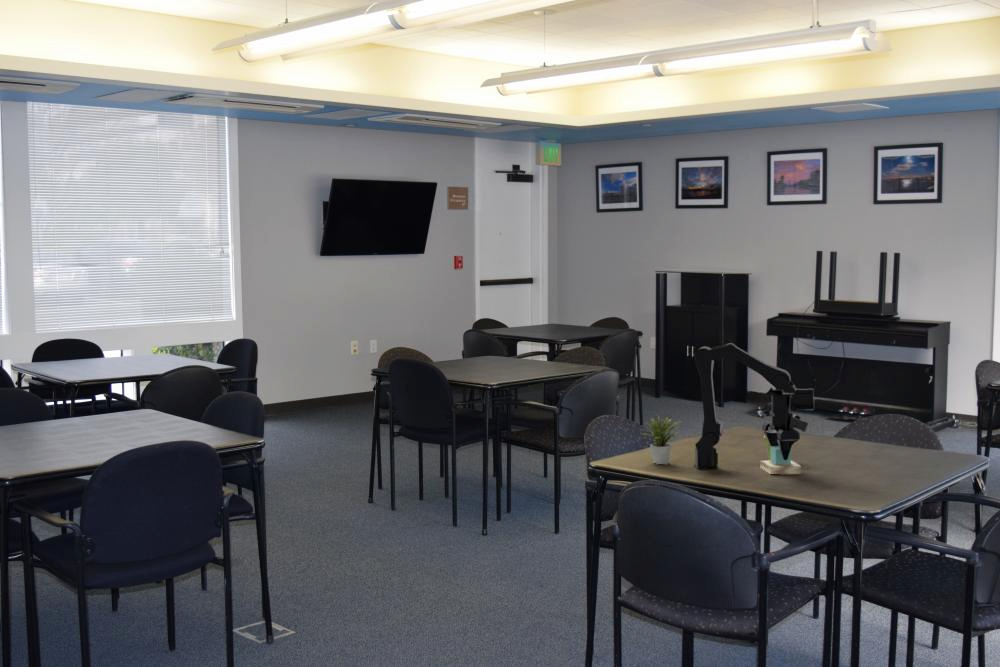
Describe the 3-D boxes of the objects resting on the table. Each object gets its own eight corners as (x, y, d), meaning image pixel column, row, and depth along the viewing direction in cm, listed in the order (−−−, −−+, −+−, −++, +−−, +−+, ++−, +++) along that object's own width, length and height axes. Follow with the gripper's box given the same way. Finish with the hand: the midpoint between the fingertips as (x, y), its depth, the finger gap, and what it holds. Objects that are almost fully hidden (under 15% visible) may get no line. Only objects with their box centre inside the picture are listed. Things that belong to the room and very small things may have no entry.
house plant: (679, 469, 329) (679, 419, 328) (637, 467, 334) (637, 418, 332) (685, 460, 343) (685, 413, 341) (645, 458, 347) (645, 411, 346)
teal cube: (775, 464, 322) (775, 449, 321) (770, 461, 327) (770, 446, 326) (790, 464, 322) (790, 448, 322) (785, 461, 327) (785, 446, 327)
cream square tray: (770, 474, 319) (770, 466, 319) (760, 468, 329) (760, 460, 329) (801, 473, 320) (801, 465, 320) (790, 467, 330) (790, 459, 330)
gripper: (816, 413, 314) (815, 462, 315) (794, 404, 333) (794, 450, 334) (781, 413, 313) (781, 463, 315) (761, 405, 332) (761, 451, 333)
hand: (780, 457), depth 324 cm, fingers open, 9 cm apart
